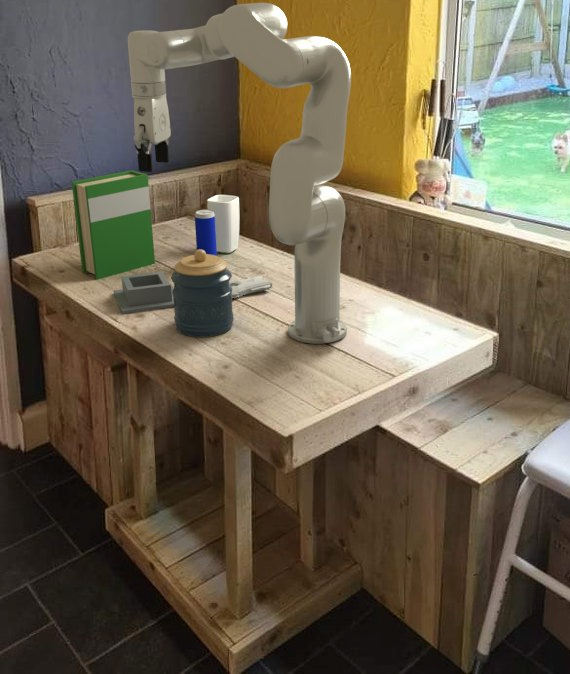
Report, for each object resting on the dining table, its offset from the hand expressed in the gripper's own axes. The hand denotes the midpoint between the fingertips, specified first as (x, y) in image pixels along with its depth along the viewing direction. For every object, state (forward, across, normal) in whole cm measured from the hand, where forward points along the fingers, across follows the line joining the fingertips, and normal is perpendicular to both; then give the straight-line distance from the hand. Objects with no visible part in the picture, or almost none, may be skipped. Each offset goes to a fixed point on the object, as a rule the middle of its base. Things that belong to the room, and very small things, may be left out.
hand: (154, 166), depth 192 cm
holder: (+30, -7, +1) cm, 31 cm away
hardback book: (+31, +13, +18) cm, 38 cm away
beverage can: (+31, +18, -5) cm, 36 cm away
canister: (+31, -19, -18) cm, 40 cm away
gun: (+31, +2, -17) cm, 35 cm away
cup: (+31, +32, -5) cm, 45 cm away
